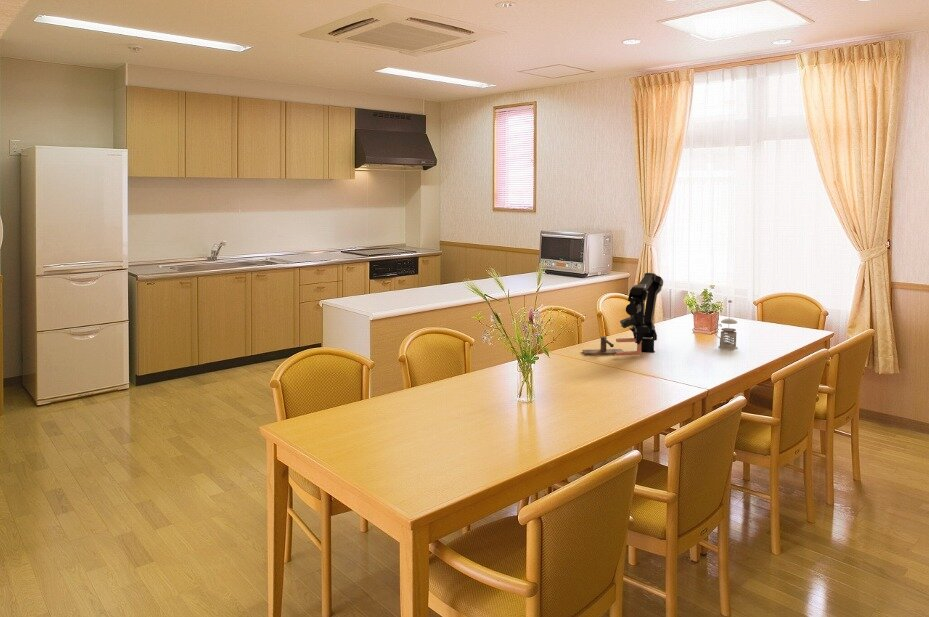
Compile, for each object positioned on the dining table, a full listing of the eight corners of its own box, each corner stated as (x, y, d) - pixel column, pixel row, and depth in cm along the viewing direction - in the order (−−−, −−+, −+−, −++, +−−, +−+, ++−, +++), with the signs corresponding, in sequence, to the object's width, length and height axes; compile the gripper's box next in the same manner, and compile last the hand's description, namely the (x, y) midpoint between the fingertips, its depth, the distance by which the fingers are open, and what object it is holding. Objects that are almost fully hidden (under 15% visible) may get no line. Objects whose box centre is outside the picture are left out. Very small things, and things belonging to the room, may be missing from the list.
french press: (739, 350, 360) (742, 301, 356) (716, 349, 362) (718, 301, 358) (735, 345, 369) (738, 298, 365) (712, 345, 371) (714, 298, 367)
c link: (639, 353, 347) (640, 337, 346) (641, 354, 345) (641, 338, 344) (615, 354, 347) (615, 338, 345) (616, 355, 344) (617, 339, 343)
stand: (620, 351, 361) (621, 335, 360) (632, 360, 340) (632, 343, 339) (582, 352, 360) (582, 335, 359) (591, 361, 339) (591, 344, 338)
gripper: (616, 309, 352) (616, 340, 354) (627, 316, 333) (626, 348, 336) (638, 309, 352) (637, 339, 355) (650, 315, 334) (649, 347, 336)
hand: (637, 343), depth 345 cm, fingers closed on c link, 2 cm apart
